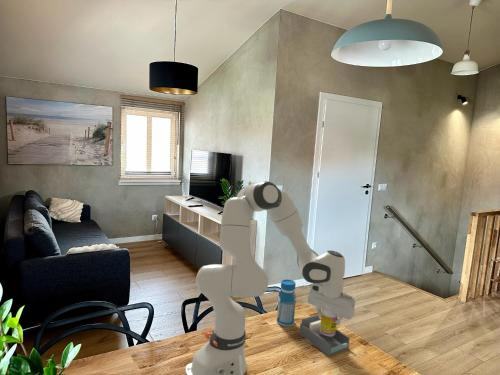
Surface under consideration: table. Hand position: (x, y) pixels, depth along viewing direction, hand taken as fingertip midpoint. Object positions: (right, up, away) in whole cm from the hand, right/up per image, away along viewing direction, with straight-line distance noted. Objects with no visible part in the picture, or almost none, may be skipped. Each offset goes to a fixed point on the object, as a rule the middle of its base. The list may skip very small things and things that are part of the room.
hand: (328, 320), depth 143 cm
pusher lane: (-2, -10, +3) cm, 11 cm away
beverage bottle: (-17, -8, +17) cm, 25 cm away
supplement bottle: (-1, -6, +1) cm, 6 cm away
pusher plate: (-4, -8, +6) cm, 11 cm away
